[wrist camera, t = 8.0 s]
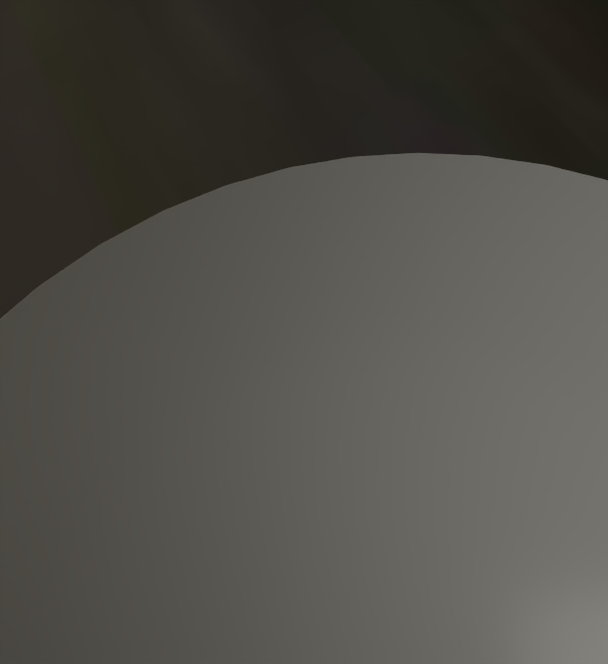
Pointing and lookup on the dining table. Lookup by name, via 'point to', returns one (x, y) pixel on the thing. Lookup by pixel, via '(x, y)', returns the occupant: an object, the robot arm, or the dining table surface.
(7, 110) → the dining table surface
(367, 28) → the dining table surface
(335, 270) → the cover cup
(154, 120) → the dining table surface
